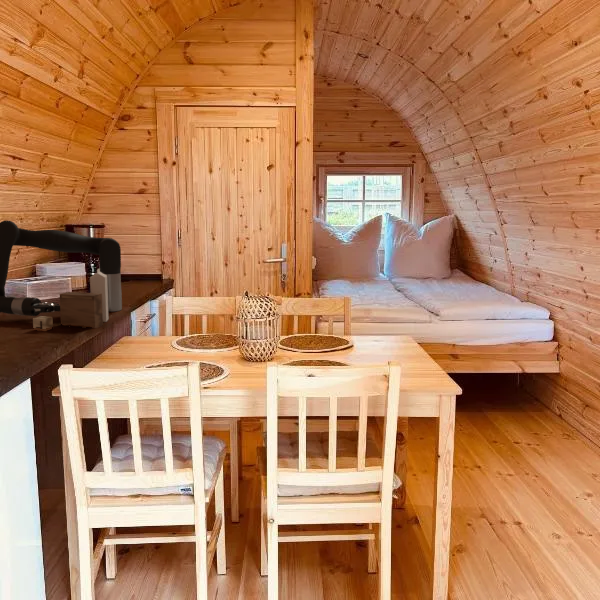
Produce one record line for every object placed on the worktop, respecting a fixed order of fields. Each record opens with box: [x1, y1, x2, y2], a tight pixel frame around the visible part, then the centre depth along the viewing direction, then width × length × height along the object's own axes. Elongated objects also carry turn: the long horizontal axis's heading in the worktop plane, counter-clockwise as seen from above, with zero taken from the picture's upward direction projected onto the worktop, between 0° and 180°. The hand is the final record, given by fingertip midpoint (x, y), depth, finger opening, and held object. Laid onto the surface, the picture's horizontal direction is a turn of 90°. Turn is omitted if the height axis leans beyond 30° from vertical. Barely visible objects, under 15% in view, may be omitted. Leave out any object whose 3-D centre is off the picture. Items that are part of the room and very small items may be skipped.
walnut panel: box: [59, 291, 104, 329], centre depth 239 cm, size 6×15×13 cm, turn 79°
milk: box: [89, 267, 109, 323], centre depth 248 cm, size 6×6×22 cm
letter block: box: [32, 315, 54, 329], centre depth 229 cm, size 5×5×5 cm
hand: (64, 308), depth 240 cm, fingers closed
